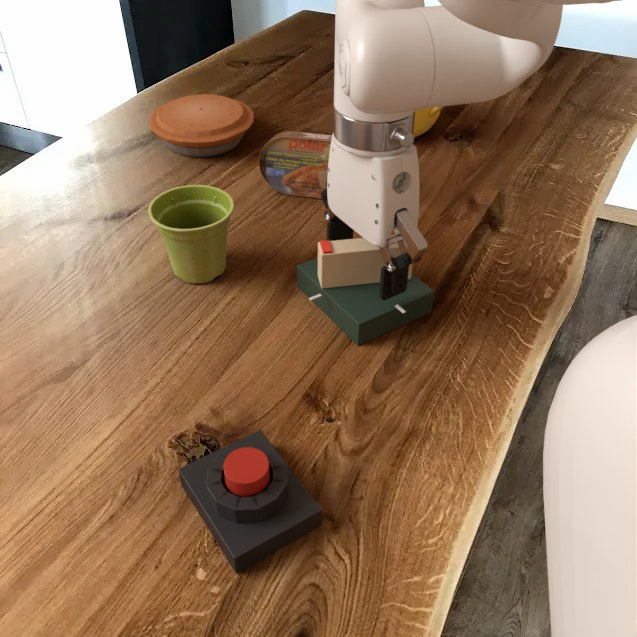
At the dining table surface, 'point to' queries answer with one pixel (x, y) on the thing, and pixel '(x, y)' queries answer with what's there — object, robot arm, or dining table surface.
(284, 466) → the control block
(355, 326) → the dial base
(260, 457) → the button
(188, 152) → the pie
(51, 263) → the dining table surface
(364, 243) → the beige rectangular block
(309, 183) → the tin
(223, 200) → the plant pot
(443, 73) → the robot arm
